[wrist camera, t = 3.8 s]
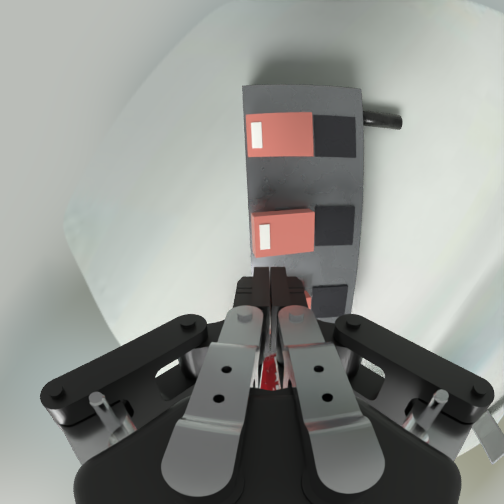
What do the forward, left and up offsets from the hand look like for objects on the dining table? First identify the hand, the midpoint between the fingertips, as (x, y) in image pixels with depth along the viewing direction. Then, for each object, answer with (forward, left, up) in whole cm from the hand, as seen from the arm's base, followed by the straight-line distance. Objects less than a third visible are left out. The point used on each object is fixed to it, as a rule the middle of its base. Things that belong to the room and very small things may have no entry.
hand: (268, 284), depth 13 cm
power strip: (-6, 0, -13) cm, 14 cm away
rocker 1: (-1, -7, -7) cm, 10 cm away
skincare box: (-59, +55, -13) cm, 82 cm away
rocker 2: (-1, 0, -7) cm, 7 cm away
